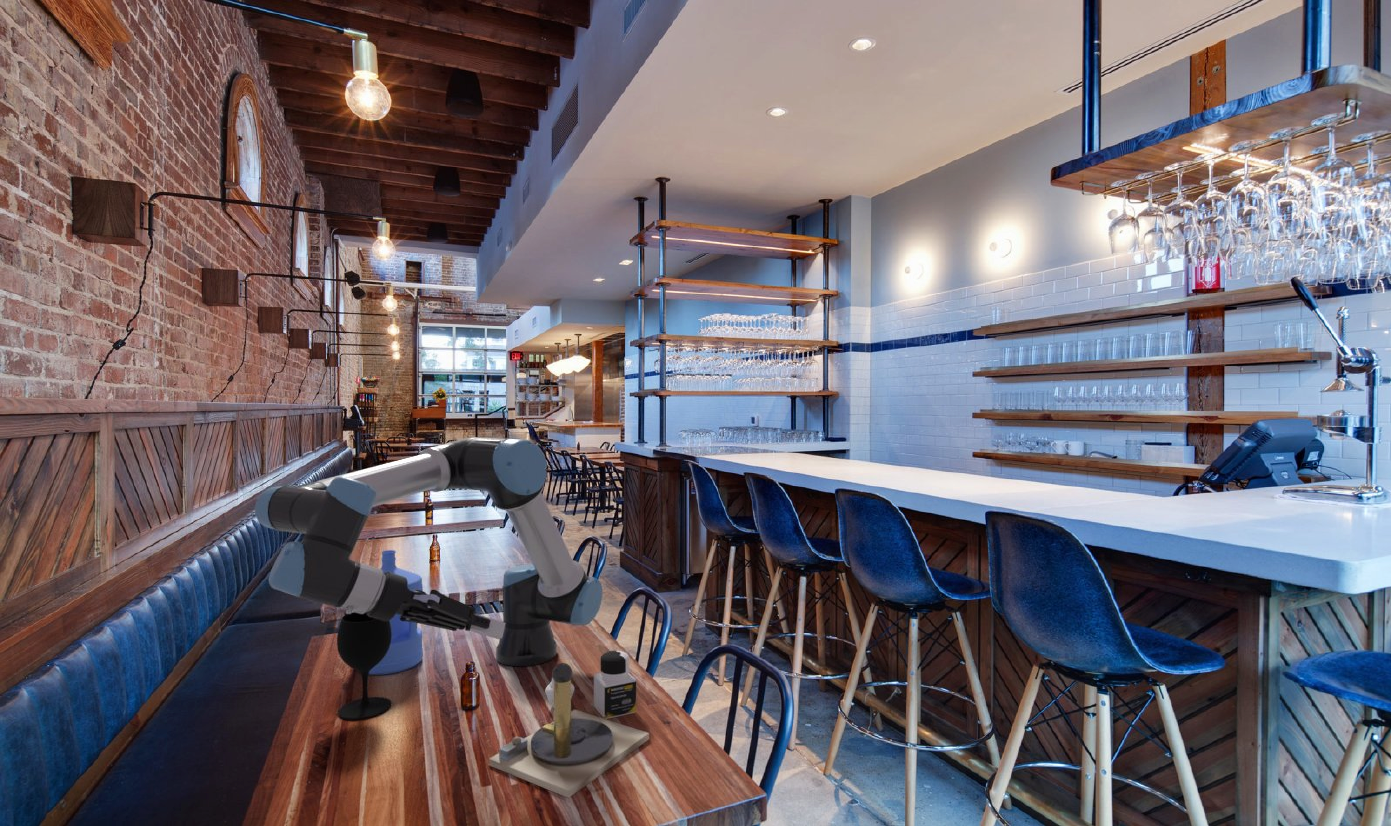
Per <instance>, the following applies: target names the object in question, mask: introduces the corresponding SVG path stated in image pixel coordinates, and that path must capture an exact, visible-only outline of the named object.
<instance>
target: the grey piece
mask: <svg viewBox="0 0 1391 826" xmlns="http://www.w3.org/2000/svg"><path fill="white" fill-rule="evenodd" d="M544 692H545V696H546V698H547V700H548V702H549V704H550V705H551V708H552V709H554V680H553V677H551V681H550V683H549V684H548V685H547V686H546V687H545V690H544ZM574 692H575V686H574V685H573V683H572V682H571V699H572V698H573V695H574Z"/></svg>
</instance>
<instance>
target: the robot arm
mask: <svg viewBox="0 0 1391 826" xmlns="http://www.w3.org/2000/svg"><path fill="white" fill-rule="evenodd" d="M546 468H548V462H547V460H546V457H545V454H544V452H543V451H542V449H541V447H539V446H538V445H537V444H536V443H534V442H533V441H531V440H527V439H521V438H517V437H507V438H500V437H482V436H474V437H473V436H472V437H471V436H470V437H466V438H461V439H457V440H453V441H449V442H446V443H442V444H439V445H436V446H431V447H428V448H427V447H426V448H425V449H423V450H422V451H420V453H419V454H417V455H414V456H411V457H407V458H404V459H399V460H395V461H391V462H387V463H383V464H379V465H375V466H371V467H367V468H364V469H360V470H359V469H358V470H355V471H352V472H351V471H350V472H348V473H344V474H339V475H335V476H332V477H328V478H323V479H319V480H316V481H313V482H308V483H303V484H300V485H295V486H289V485H281V486H272V487H270V488H267V489H266V490H264V491H263V492H262V493H261V494H260V495H259V497H258V498H257V500H256V503H255V506H254V513H255V518H256V520H257V521H258V522H259V523H260V524H261V525H262V526H263V527H265V528H268V529H271V530H274V531H277V532H287V533H295V534H296V533H297V534H303V535H304V536H303V538H302V540H301V542H300V541H298V542H296V541H288V542H287V543H285V545H284V546H283V547H282V549H281V550H280V552H279V555H278V556H277V558H276V559H275V560H274V563H273V565H272V568H271V571H270V573H269V575H268V585H269V586H270V587H271V588H272V589H273V590H276V591H278V592H279V591H280V592H283V593H285V594H288V595H292V596H294V597H297V598H301V599H305V600H308V601H312V602H315V603H320V604H323V605H326V606H330V607H335V608H338V609H343V610H345V615H347V614H351V613H352V612H355V613H359V614H364V613H367V615H368V617H372V618H375V619H379V620H383V621H390V620H391V619H392V618H393V617H394V616H395V615H396V614H400V615H401V616H400V620H401V621H406V622H415V623H417V624H420V625H425V626H429V627H435V628H438V629H444V630H447V631H448V630H449V631H453V632H456V631H457V629H458V630H460V631H462V630H464V631H466V632H472V633H475V634H476V633H477V634H479V635H483V636H486V637H489V638H492V639H497V640H499V641H498V644H497V646H496V649H495V659H496V661H497V662H498V663H499V664H502V665H504V666H505V665H506V666H508V667H509V666H510V667H529V666H530V667H531V666H535V665H536V666H537V665H540V664H544V663H546V662H549V661H551V660H553V659H554V658H555V657H556V656H557V652H558V651H557V650H558V648H557V647H558V646H557V642H556V640H555V637H554V633H553V630H552V627H551V623H550V622H556V623H561V624H565V625H571V626H582V627H583V626H587V625H589V624H590V623H591V622H593V620H594V619H595V618H596V617H597V615H598V613H599V610H600V608H601V604H602V602H603V601H602V599H603V594H604V593H603V586H602V583H601V581H600V580H599V579H598V578H595V576H591V577H589V576H588V575H587V573H586V571H585V569H584V567H583V566H582V564H581V563H580V562H579V561H577V560H573V559H572V556H571V554H570V552H569V550H568V548H567V545H566V543H565V541H564V539H563V537H562V534H561V532H560V530H559V528H558V526H557V524H556V522H555V519H554V517H553V515H552V513H551V511H550V508H549V507H548V504H547V502H546V500H545V498H544V496H543V493H542V492H543V491H544V487H545V482H546V480H547V475H548V472H547V471H546ZM451 489H453V490H454V489H455V490H456V489H458V490H460V489H461V490H471V491H473V490H474V491H480V492H481V491H483V492H487V493H488V495H489V497H490V499H491V500H492V502H493V505H494V507H496V508H497V509H499V510H502V511H505V512H506V514H507V515H508V518H509V520H510V522H511V524H512V526H513V528H514V530H515V532H516V534H517V535H518V538H519V539H520V541H521V543H522V545H523V548H524V549H525V551H526V553H527V555H528V557H529V560H530V561H531V563H526V564H521V565H518V566H517V565H516V566H514V567H511V568H509V569H507V570H506V571H504V574H503V581H502V582H503V583H502V584H503V585H502V619H503V620H502V621H500V620H498V619H494V618H492V617H488V616H485V615H481V614H478V613H476V610H477V609H476V607H473V606H470V605H468V604H465V603H464V602H461V601H459V600H456V599H454V598H452V597H449V596H447V595H444V594H443V593H441V592H440V591H438V590H436V589H430V591H429V594H427V593H426V592H425V591H424V590H423V591H420V590H415V591H414V590H409V589H408V586H407V585H408V581H407V579H406V578H405V577H403V576H400V575H397V574H393V573H390V572H386V573H384V574H383V571H382V569H381V568H379V567H376V566H373V565H369V564H368V563H367V564H366V563H363V562H360V561H359V562H358V561H354V560H353V559H350V558H351V556H352V553H353V551H354V549H355V546H356V545H357V542H358V540H359V538H360V536H361V533H362V532H363V529H364V527H365V525H366V523H367V520H368V519H369V517H370V516H371V514H372V513H371V511H372V509H373V508H374V507H375V508H376V507H378V506H381V505H383V504H387V503H390V502H394V501H397V500H400V499H403V498H406V497H410V496H413V495H417V494H420V493H423V492H426V491H430V492H434V493H438V492H442V491H445V490H451Z"/></svg>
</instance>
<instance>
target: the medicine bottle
mask: <svg viewBox="0 0 1391 826" xmlns="http://www.w3.org/2000/svg"><path fill="white" fill-rule="evenodd" d="M593 707H594V708H595V709H596V710H597V712H598V713H599V714H600V715H601V717H602V718H603V719H606V720H609V719H613V718H616V717H621V716H626V715H631V714H635V713H636V712H637V679H636V678H635V677H634V676H632V674H631V673H630V655H629V654H628V653H627V652H626V651H622V650H610V651H607V652H605V653H603V654H602V655H601V656H600V672H598V673H594V674H593Z"/></svg>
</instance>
